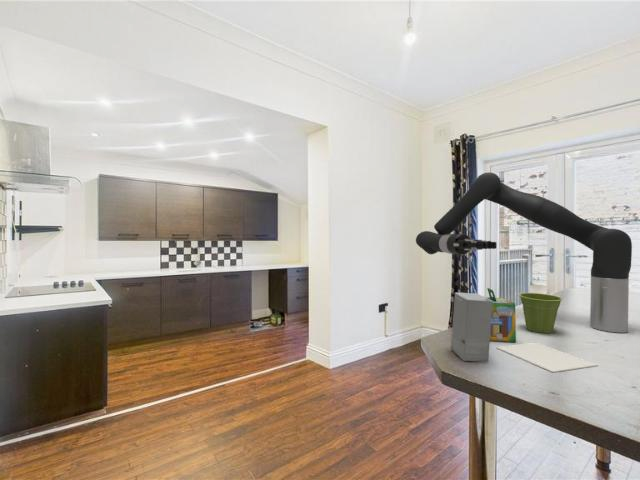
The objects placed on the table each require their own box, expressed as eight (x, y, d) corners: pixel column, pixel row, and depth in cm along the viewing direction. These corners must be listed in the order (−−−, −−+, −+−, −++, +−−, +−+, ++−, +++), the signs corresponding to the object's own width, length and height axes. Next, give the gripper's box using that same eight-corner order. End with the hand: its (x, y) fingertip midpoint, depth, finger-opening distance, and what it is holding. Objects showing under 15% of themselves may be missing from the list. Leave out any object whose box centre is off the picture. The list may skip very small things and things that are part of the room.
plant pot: (517, 332, 101) (518, 297, 100) (518, 323, 110) (518, 291, 110) (564, 338, 94) (564, 301, 94) (560, 328, 104) (561, 295, 104)
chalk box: (516, 343, 90) (516, 292, 90) (482, 341, 92) (482, 291, 92) (504, 333, 99) (504, 287, 99) (473, 331, 101) (473, 286, 101)
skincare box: (450, 349, 85) (450, 292, 85) (476, 349, 85) (477, 292, 85) (463, 362, 77) (464, 298, 76) (493, 362, 77) (493, 298, 76)
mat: (496, 348, 86) (496, 347, 86) (535, 343, 90) (535, 342, 90) (552, 372, 71) (552, 371, 71) (597, 366, 74) (597, 364, 74)
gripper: (438, 233, 114) (473, 233, 97) (470, 233, 117) (509, 233, 101) (438, 254, 114) (472, 257, 97) (470, 253, 118) (509, 256, 101)
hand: (491, 245), depth 99 cm, fingers open, 3 cm apart
